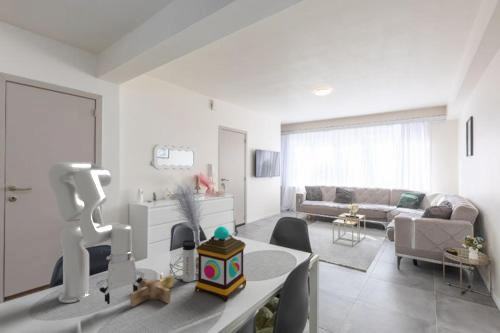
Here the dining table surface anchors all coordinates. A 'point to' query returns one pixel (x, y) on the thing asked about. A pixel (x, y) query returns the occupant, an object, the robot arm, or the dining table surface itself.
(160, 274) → the window posts
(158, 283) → the wooden cross piece
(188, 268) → the travel mug
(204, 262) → the decorative lantern
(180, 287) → the dining table surface
